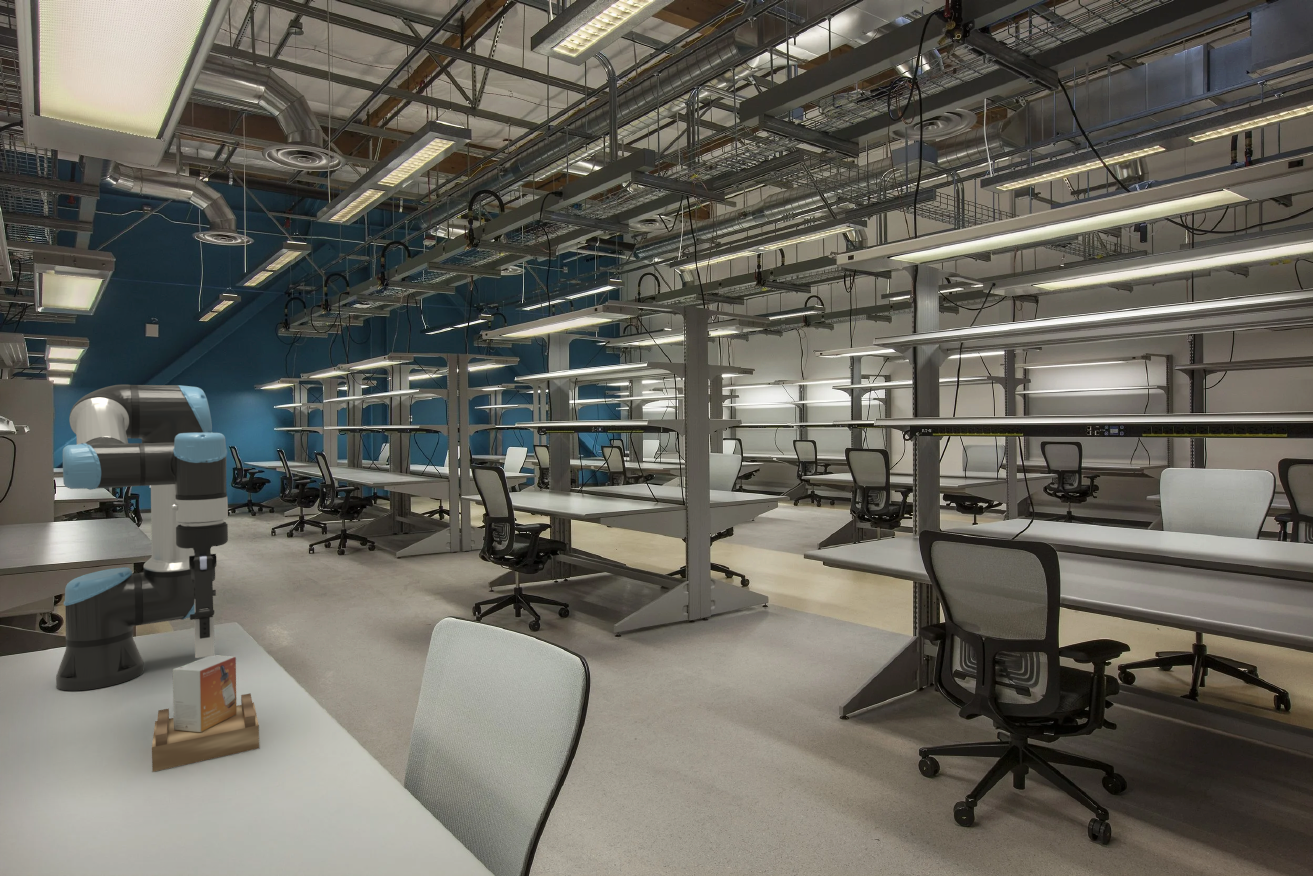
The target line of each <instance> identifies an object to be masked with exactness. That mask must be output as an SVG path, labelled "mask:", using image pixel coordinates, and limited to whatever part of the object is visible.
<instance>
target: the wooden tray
mask: <svg viewBox="0 0 1313 876" xmlns="http://www.w3.org/2000/svg"><path fill="white" fill-rule="evenodd" d="M240 697H241V699H240V700H241V701H240V702H241V703H240V704H238V705H237V704H236V708H237V713H236V715H235V716H233V717H230V718H228V719H226V720H224V721H222V722H220V723H218V724H216V725H213V726H211V727H209V728H207V729H206V730H204V731H202V732H192V731H181V730H174V717H171V718H170V708H164V709H160V710H159V709H158V712H157V719H156V721H154V728H153V735H152V743H151V744H152V745H151V763H152V764H151V766H152V771H151V772H152V773H154V772H159V771H163V770H169V769H172V768H177V767H182V766H185V765H186V766H187V765H190V764H191V765H192V764H194V763H200V762H203V761H207V760H212V759H217V758H221V757H226V756H232V755H235V754H239V753H245V752H249V751H252V750H257V749H260V724H259V721H258V720H259V719H258V716H257V711H256V707H255V706H256V705H255V702H253V699H252V694H251V693H244V694H241V695H240Z"/></svg>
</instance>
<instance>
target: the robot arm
mask: <svg viewBox="0 0 1313 876" xmlns="http://www.w3.org/2000/svg"><path fill="white" fill-rule="evenodd" d="M211 415H212V414H211V411H210V406H209V401H208V398H207V396H206V393H205V392H204V390H203V389H202V388H200V387H197V386H191V385H190V386H188V385H178V384H177V385H176V384H175V385H173V384H172V385H170V384H169V385H168V384H166V385H165V384H164V385H162V384H161V385H160V384H159V385H158V384H157V385H156V384H149V385H148V384H145V385H144V384H115V385H110V386H105V387H102V388H99V389H96V390H94V391H92V392H89V393H88V394H85V395H84V396H82V397H81V398H80V399H78V400H77V402H75V404H73V406H72V408H71V409H70V413H69V425H70V428H71V430H72V432H73V433H74V434H75V435H76V444H68V445H65V446H64V448H62V476H63V477H62V479H63V481H62V482H63V486H65V488H68V489H71V490H73V489H74V490H75V489H77V490H78V489H80V490H81V489H82V490H83V489H84V490H85V489H86V490H96V489H108V488H109V489H111V488H112V489H113V488H127V487H128V488H129V487H141V486H142V487H147V486H149V487H150V507H151V508H150V513H151V514H150V517H151V519H150V521H151V523H150V525H151V526H150V527H151V528H150V529H151V532H150V533H151V534H150V535H151V557H150V558H148V560H146V561H145V562H144V564H143V572H139V573H137V572H136V573H133V570H132V569H131V568H130V567H125V566H124V567H116V568H108V569H104V570H99V571H94V572H90V573H86V574H83V575H80V576H78V577H75V578H73V579H71V580H70V581H69V582H67V584H66V585H65V588H64V601H63V606H64V607H65V608H64V609H65V610H64V611H65V616H64V617H65V651H64V654H63V657H62V659H61V661H60V665H59V667H58V670H57V672H56V677H55V680H56V682H55V687H56V689H59V690H61V691H75V692H76V691H86V690H94V689H100V688H106V687H110V686H111V687H112V686H115V685H118V684H123V683H124V682H125V683H126V682H128V681H131V680H133V679H135V678H138V677H140V675H142V674H143V673H144V660H143V657H142V655H141V653H140V651H139V649H138V647H137V643H136V642H135V639H134V627H138V626H145V625H151V624H157V623H163V622H171V621H178V620H181V621H182V620H183V621H185V620H186V619H189V620H190V621H191V620H192V621H193V620H194V656H195V657H194V658H195V659H198V658H199V659H201V658H204V657H207V656H213V655H216V654H215V651H216V650H215V646H216V645H215V610H214V597H216V596H217V591H216V590H217V589H213V586H214V585H213V582H214V581H215V580H216V568H217V561H218V560H217V553H211V549H212V547H218V546H219V547H220V546H223V545H226V544H227V542H228V540H229V535H228V534H229V533H228V532H229V528H228V527H229V526H228V523H227V522H226V521H225V520H227V519H228V518H229V514H228V513H229V511H228V510H229V506H228V504H229V503H228V494H227V493H228V492H227V456H228V449H227V444H226V441H227V440H226V437H225V435H224V434H223V433H221V432H213V430H212V429H213V425H212V424H213V423H212V417H211ZM128 439H131V440H132V439H141V442H140V443H139V442H136V443H135V442H133V443H129V440H128Z"/></svg>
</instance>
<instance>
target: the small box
mask: <svg viewBox="0 0 1313 876" xmlns="http://www.w3.org/2000/svg"><path fill="white" fill-rule="evenodd" d="M236 660H237V658H236V656H233V655H232V656H231V655H220V654H215V655H213V656H207V657H201V658H199V659H196V660H195V661H192V662H190V663H187V664H185V665H181V666H179V667H176V668H173V669H172V705H173V706H172V709H173V710H172V712H173V718H174V730H181V731H192V732H202V731H204V730H206V729H207V728H209V727H211V726H213V725H216V724H218V723H220V722H222V721H224V720H226V719H228V718H230V717H233V716H235V715H236V713H237V708H236V706H237V661H236Z"/></svg>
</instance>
